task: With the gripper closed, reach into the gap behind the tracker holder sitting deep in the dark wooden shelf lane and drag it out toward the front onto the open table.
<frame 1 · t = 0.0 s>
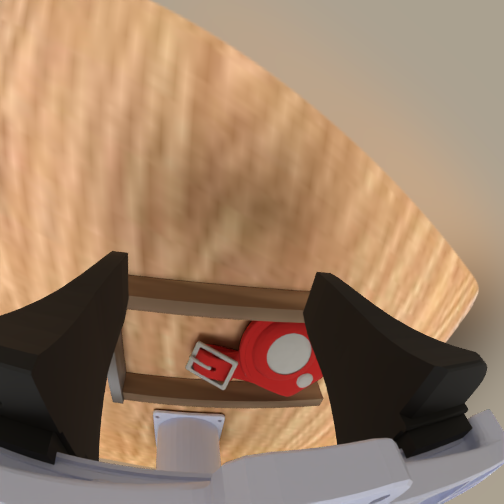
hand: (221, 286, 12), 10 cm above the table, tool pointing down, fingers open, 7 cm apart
shelf lane: (227, 345, 27), on the table
tracker holder: (261, 337, 28), on the table
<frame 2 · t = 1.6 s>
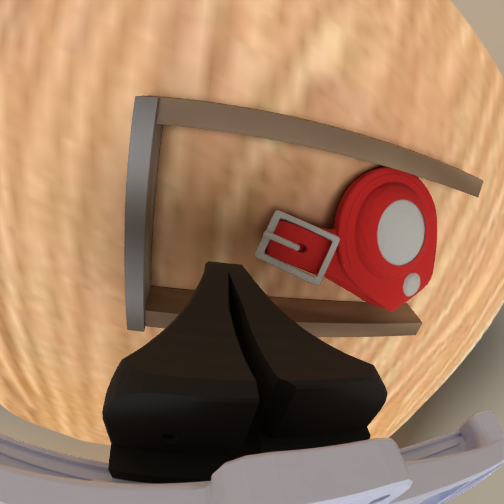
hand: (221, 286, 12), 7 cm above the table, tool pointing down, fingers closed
shelf lane: (310, 229, 19), on the table
tracker holder: (353, 224, 20), on the table
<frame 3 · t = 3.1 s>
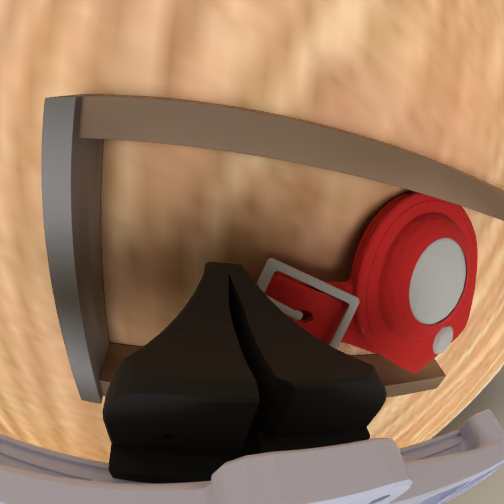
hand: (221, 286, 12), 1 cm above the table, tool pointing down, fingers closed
shelf lane: (316, 275, 14), on the table
tracker holder: (373, 265, 15), on the table, touching gripper
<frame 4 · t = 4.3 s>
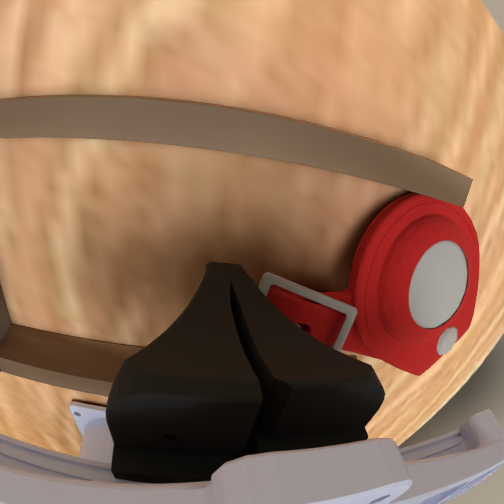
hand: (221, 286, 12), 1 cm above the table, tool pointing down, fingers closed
shelf lane: (177, 262, 13), on the table
tracker holder: (373, 269, 15), on the table, touching gripper
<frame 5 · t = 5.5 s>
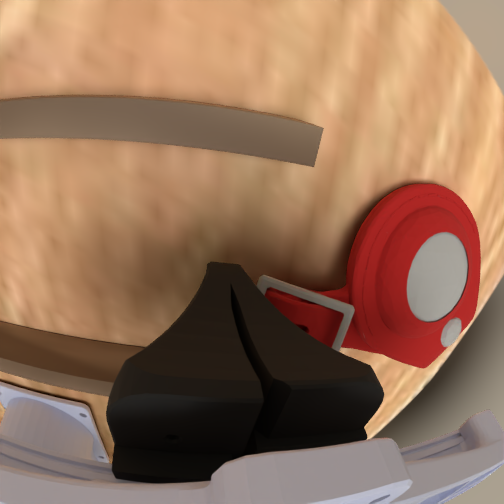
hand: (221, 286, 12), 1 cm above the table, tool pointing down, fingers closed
shelf lane: (33, 245, 11), on the table
tracker holder: (372, 264, 15), on the table, touching gripper
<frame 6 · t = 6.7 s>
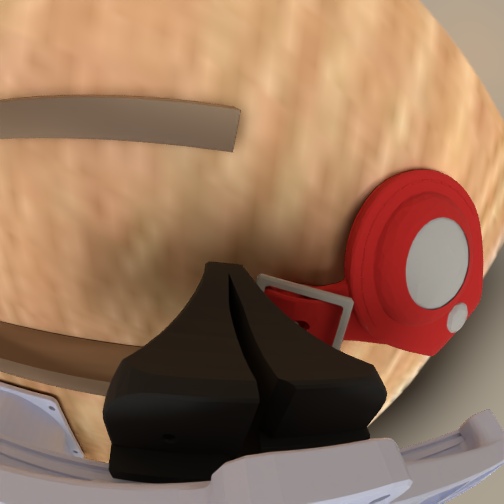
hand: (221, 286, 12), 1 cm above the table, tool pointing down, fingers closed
tracker holder: (372, 255, 14), on the table
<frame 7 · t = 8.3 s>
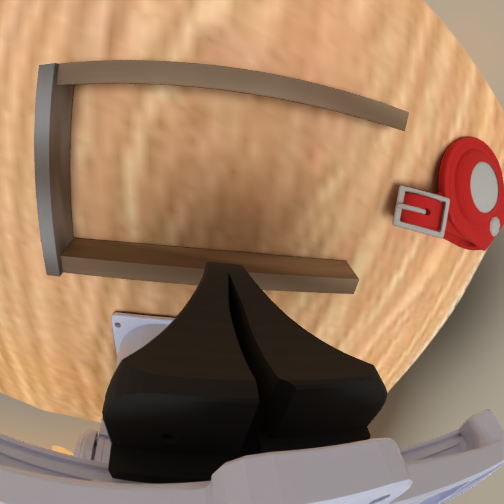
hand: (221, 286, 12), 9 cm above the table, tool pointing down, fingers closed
shelf lane: (213, 174, 19), on the table
tracker holder: (445, 186, 22), on the table
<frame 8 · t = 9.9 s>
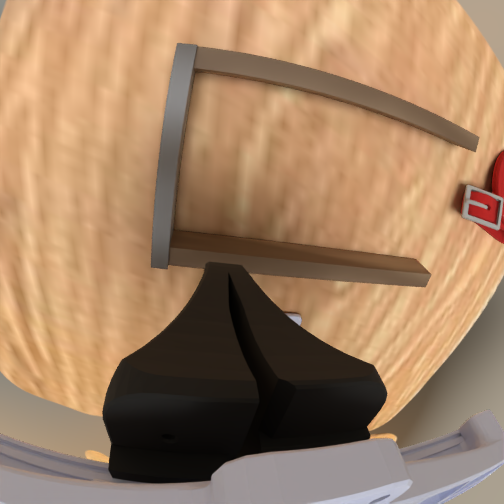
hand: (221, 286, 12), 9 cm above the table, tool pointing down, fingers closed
shelf lane: (325, 176, 20), on the table
tracker holder: (492, 189, 23), on the table
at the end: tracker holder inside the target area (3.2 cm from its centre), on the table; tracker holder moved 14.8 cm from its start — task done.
